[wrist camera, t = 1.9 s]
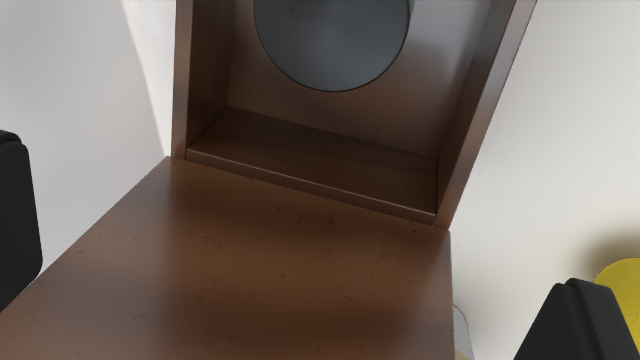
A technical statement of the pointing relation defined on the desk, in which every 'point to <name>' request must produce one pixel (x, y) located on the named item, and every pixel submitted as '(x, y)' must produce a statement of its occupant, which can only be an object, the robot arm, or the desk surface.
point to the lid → (238, 279)
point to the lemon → (625, 291)
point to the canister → (333, 39)
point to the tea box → (347, 107)
